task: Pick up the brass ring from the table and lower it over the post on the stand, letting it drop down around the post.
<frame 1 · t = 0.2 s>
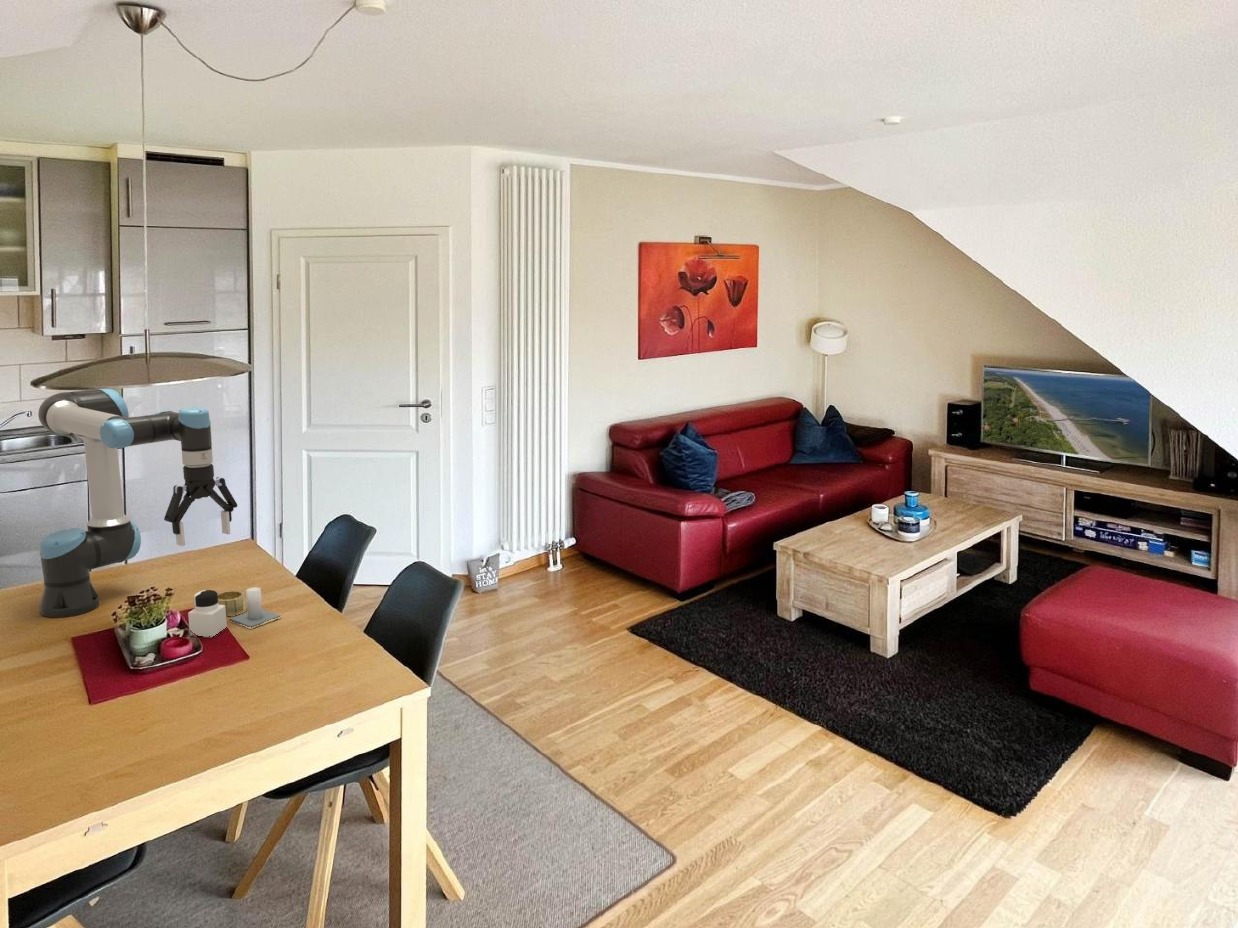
hand: (204, 539, 244), 27 cm above the table, tool pointing down, fingers open, 13 cm apart
ring: (230, 611, 264), on the table
post stand: (255, 620, 258), on the table
medicine bottle: (208, 632, 249), on the table
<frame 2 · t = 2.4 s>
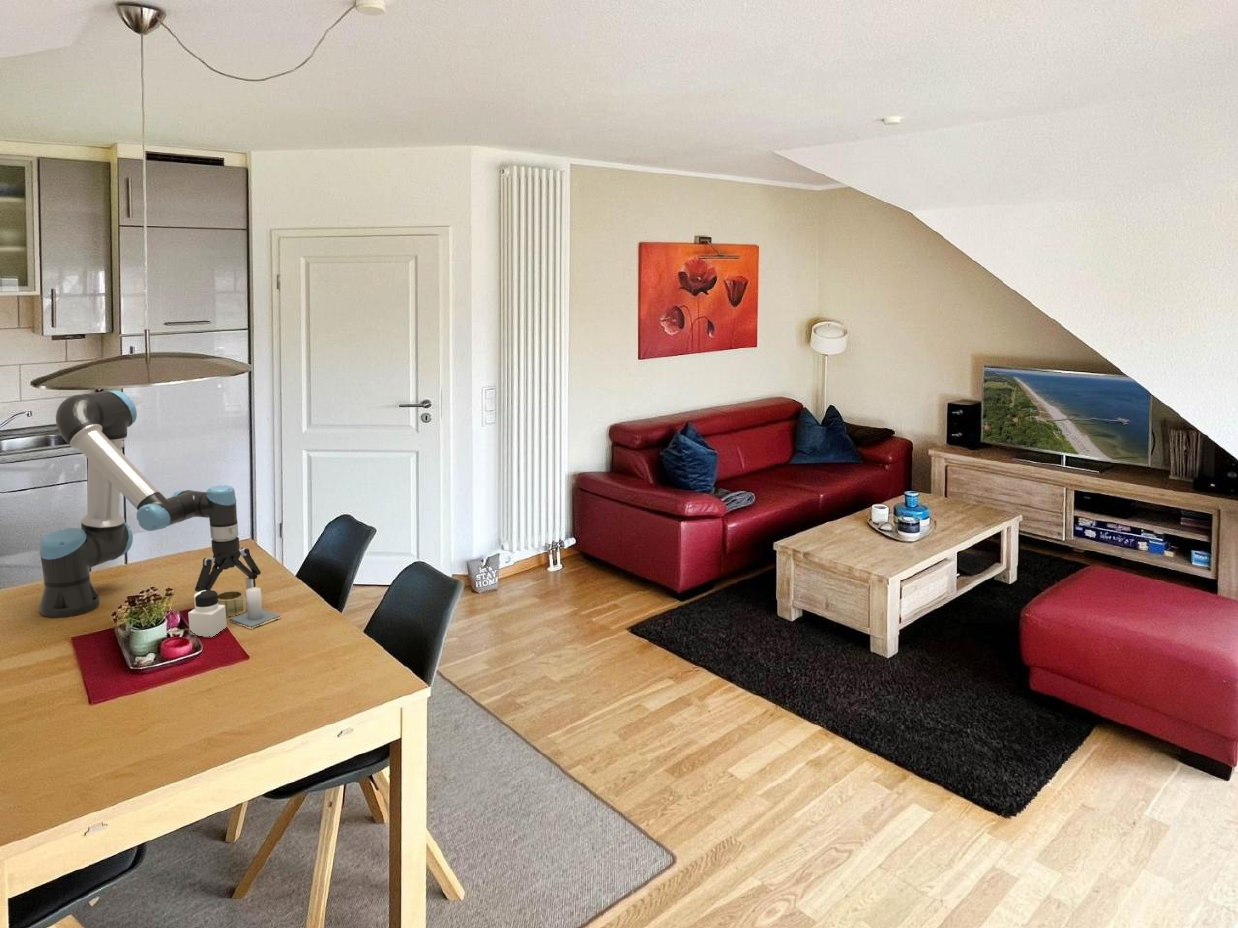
hand: (230, 605, 264), 2 cm above the table, tool pointing down, fingers open, 13 cm apart
nothing on the table moved.
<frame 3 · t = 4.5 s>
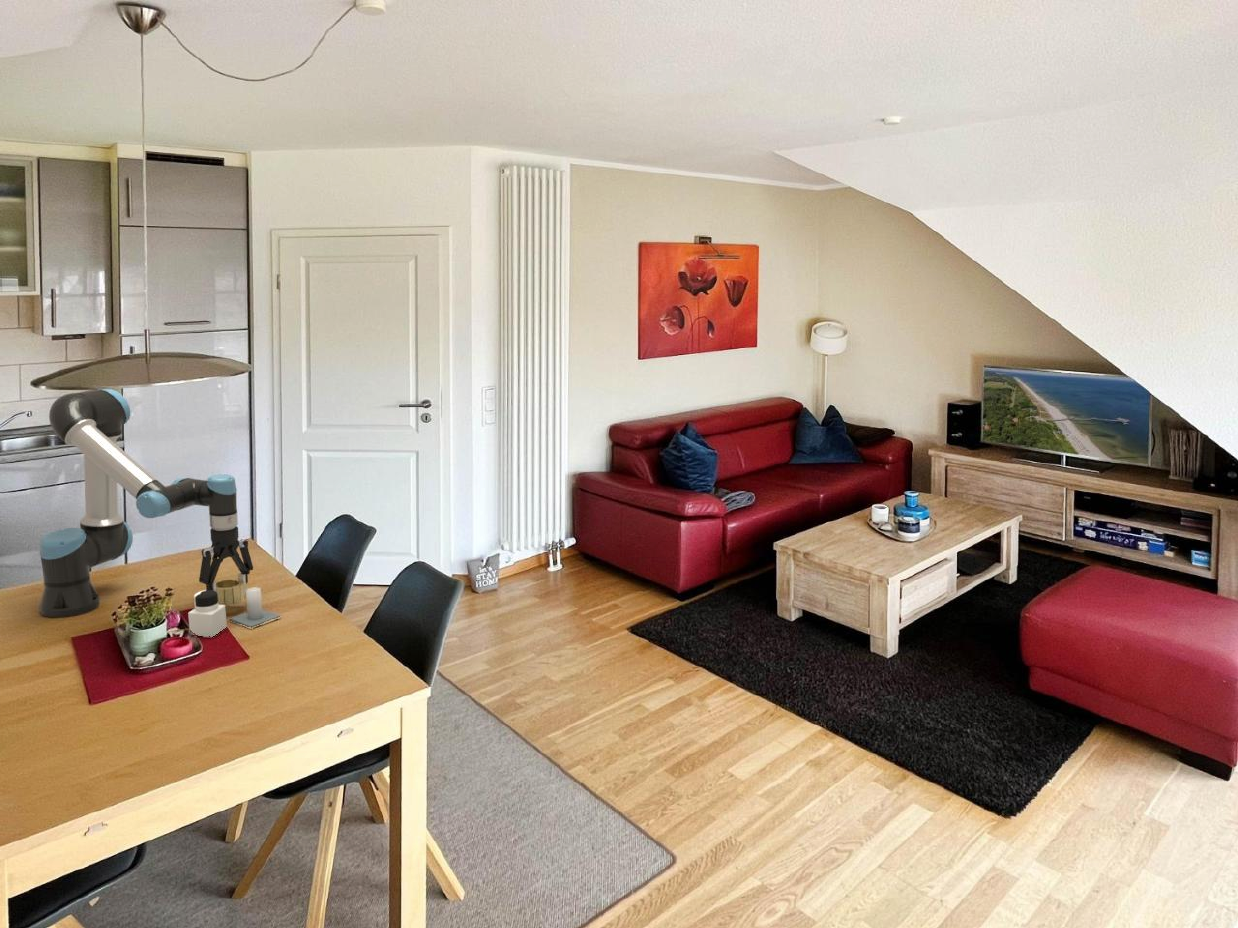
hand: (228, 598, 264), 4 cm above the table, tool pointing down, fingers closed on ring, 9 cm apart
ring: (228, 599, 264), point 4 cm above the table, touching gripper
everything else where it was.
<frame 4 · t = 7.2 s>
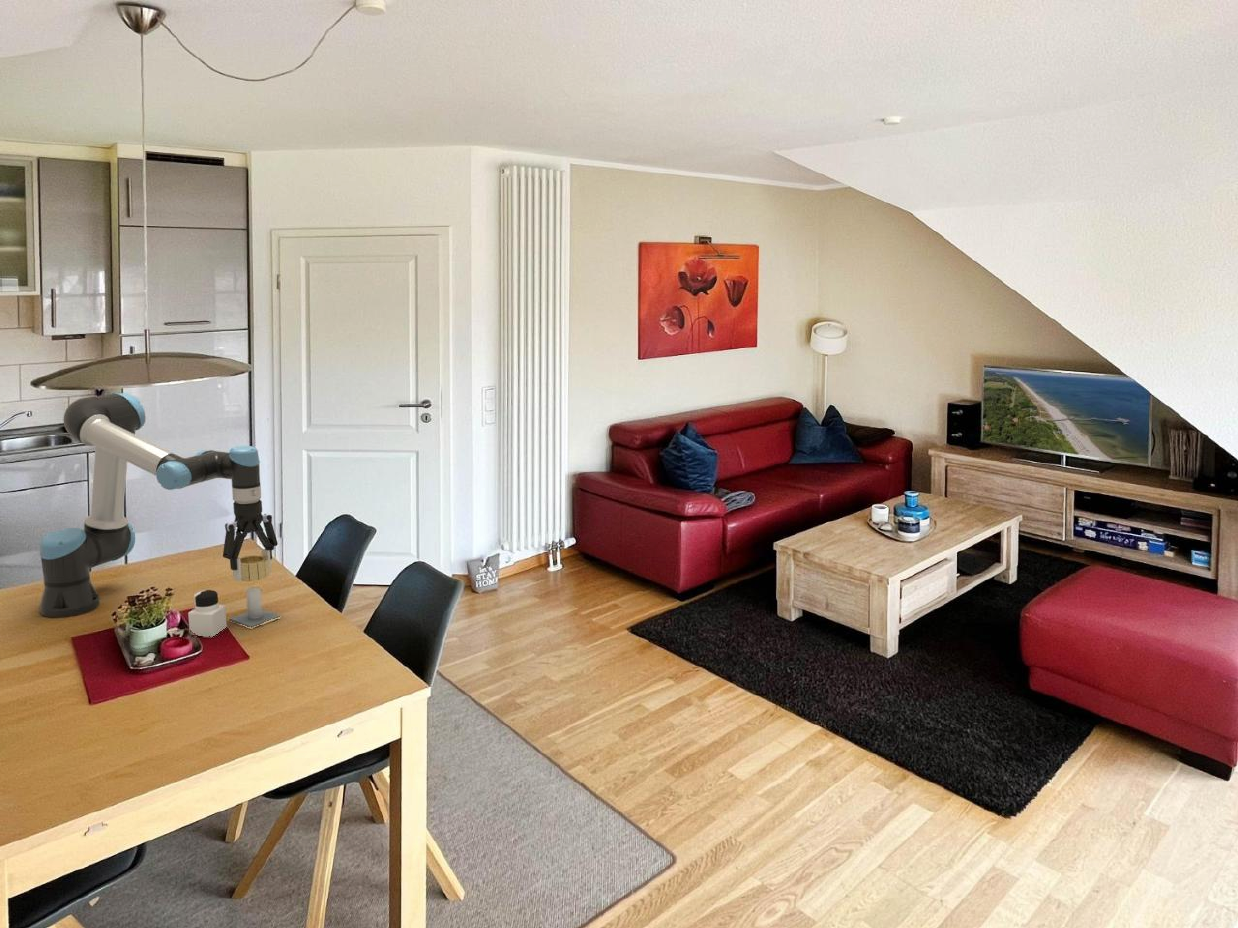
hand: (252, 575, 255), 14 cm above the table, tool pointing down, fingers closed on ring, 9 cm apart
ring: (252, 575, 255), point 14 cm above the table, touching gripper
everything else where it was.
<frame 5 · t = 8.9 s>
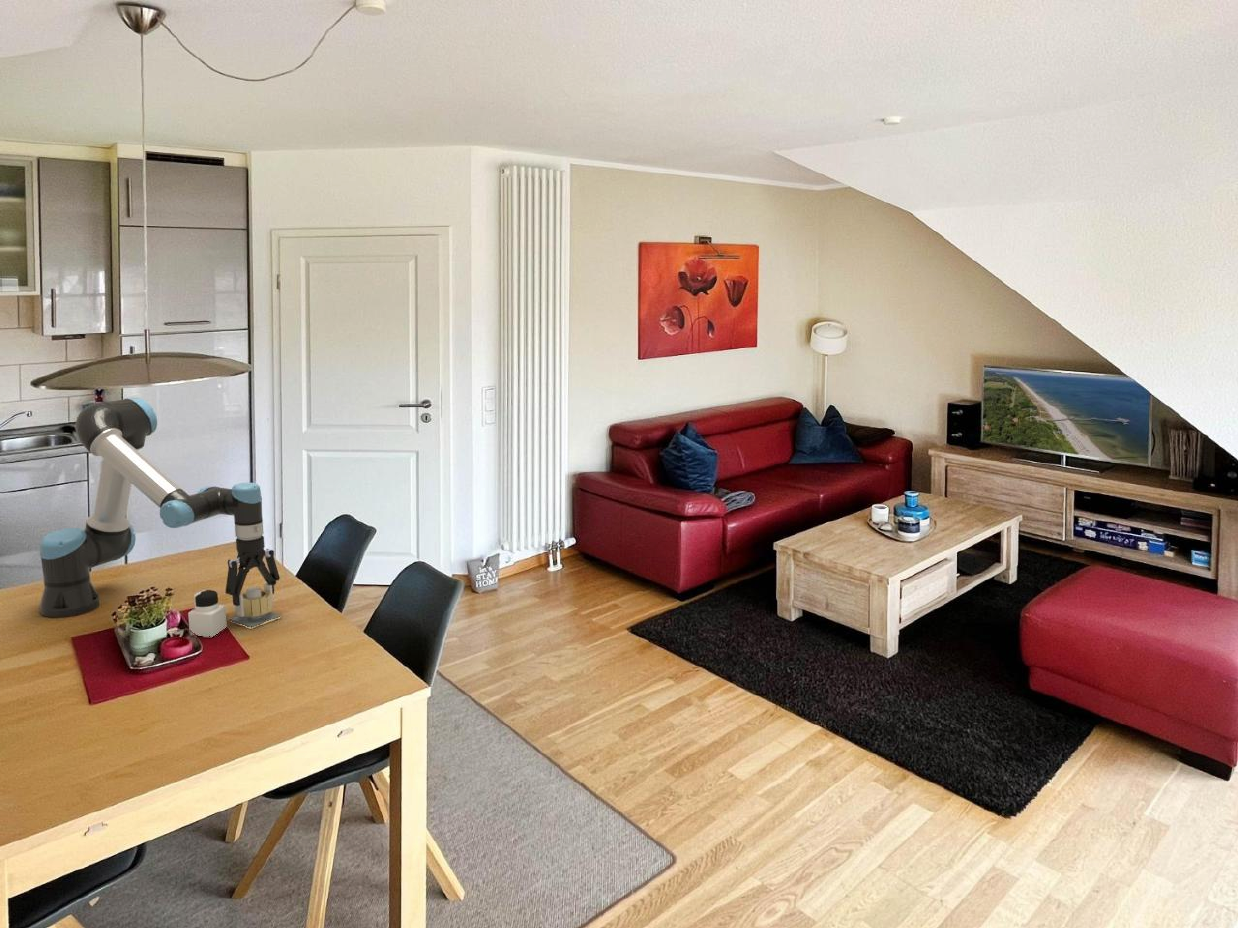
hand: (255, 610, 257), 3 cm above the table, tool pointing down, fingers closed on ring, 9 cm apart
ring: (254, 610, 258), point 3 cm above the table, touching gripper
everything else where it was.
when the fingers open (2 cm above the table, at t = 10.0 s): ring drops 1 cm, resting on post stand.
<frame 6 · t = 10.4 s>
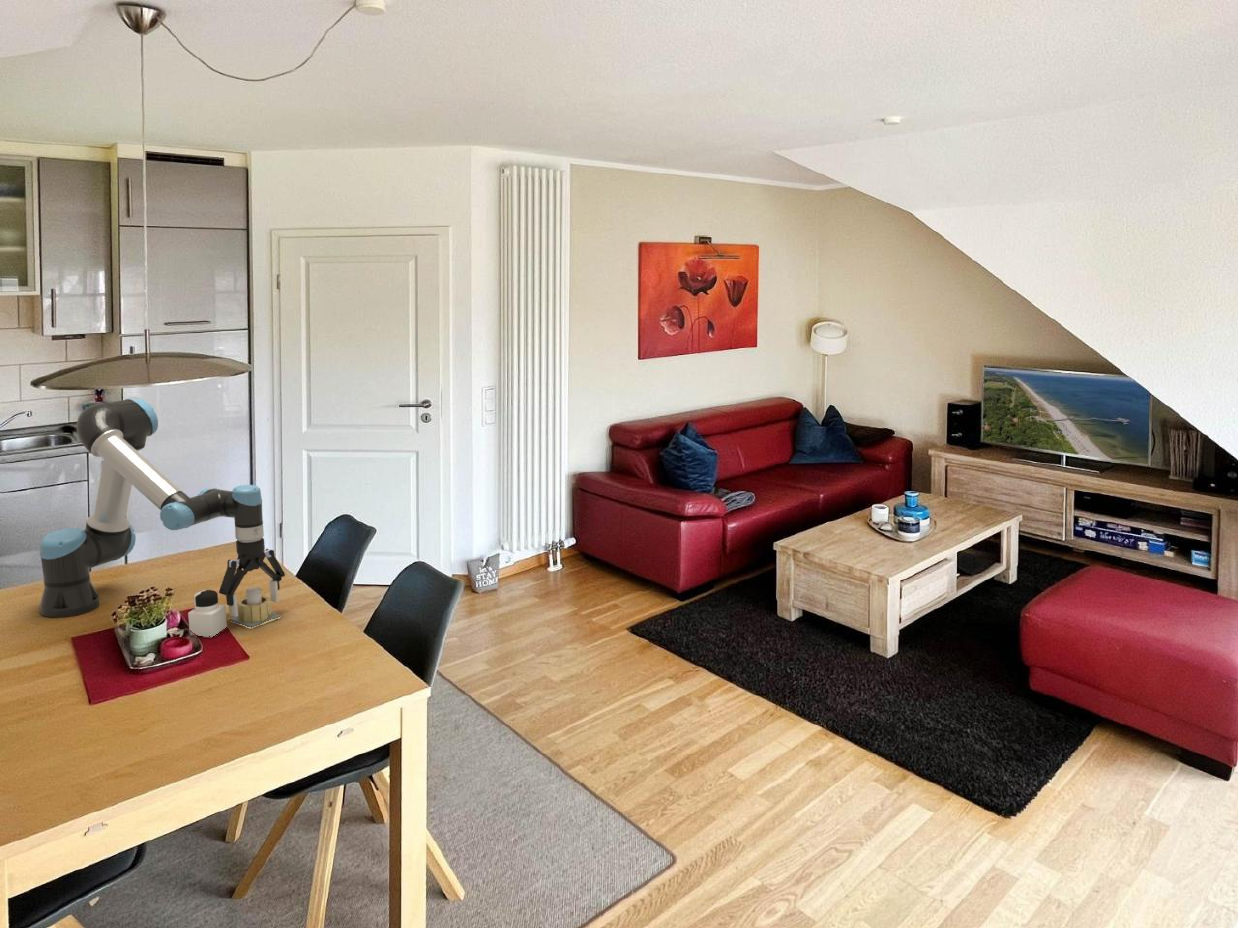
hand: (254, 608, 257), 4 cm above the table, tool pointing down, fingers open, 13 cm apart
ring: (254, 616, 258), point 1 cm above the table, touching post stand
everything else where it was.
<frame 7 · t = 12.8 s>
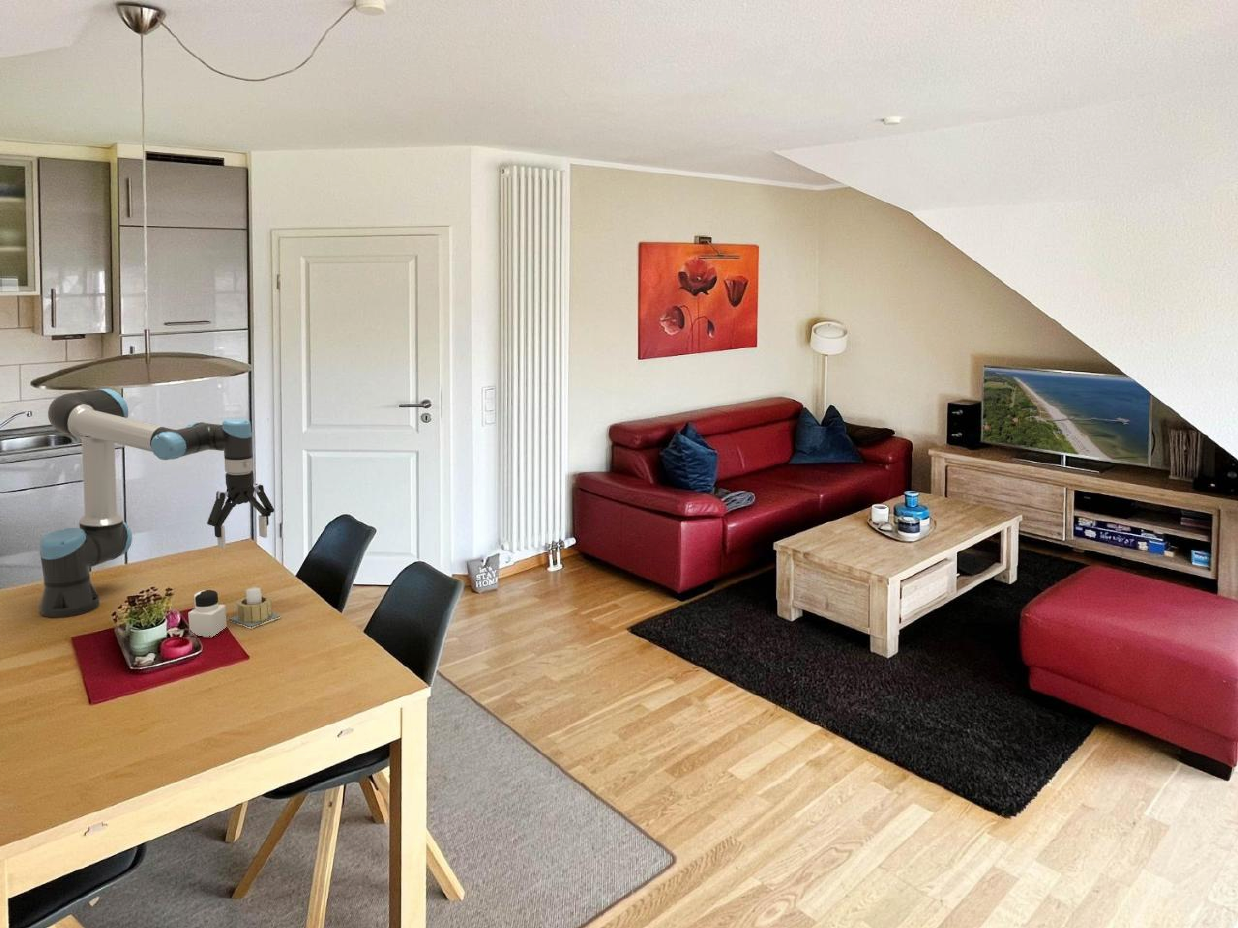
hand: (243, 542, 259), 22 cm above the table, tool pointing down, fingers open, 13 cm apart
nothing on the table moved.
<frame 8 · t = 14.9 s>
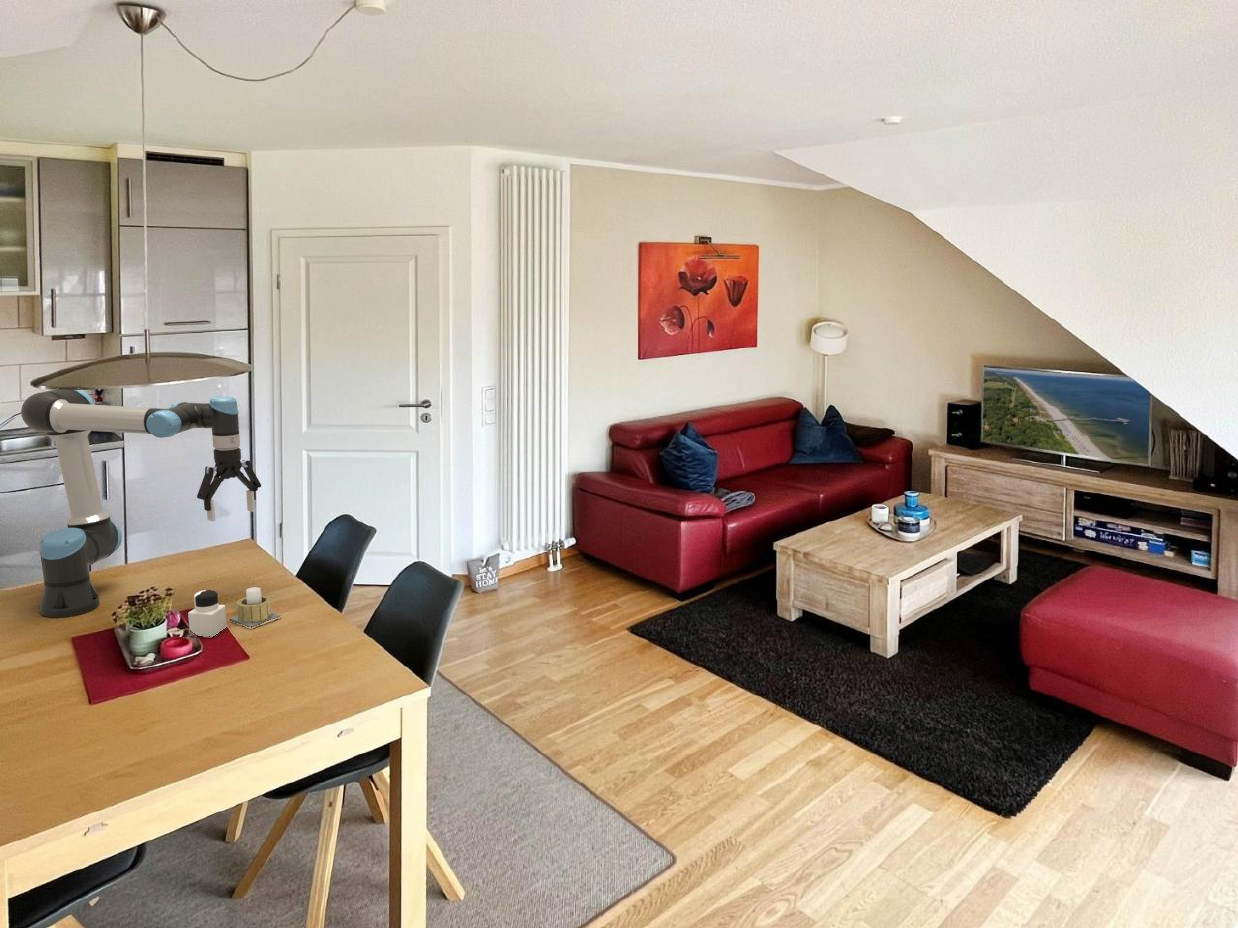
hand: (231, 515, 269), 27 cm above the table, tool pointing down, fingers open, 13 cm apart
nothing on the table moved.
at the end: ring 0.1 cm from the post stand (horizontally); ring point 1.0 cm above the table; the gripper is holding nothing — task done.
